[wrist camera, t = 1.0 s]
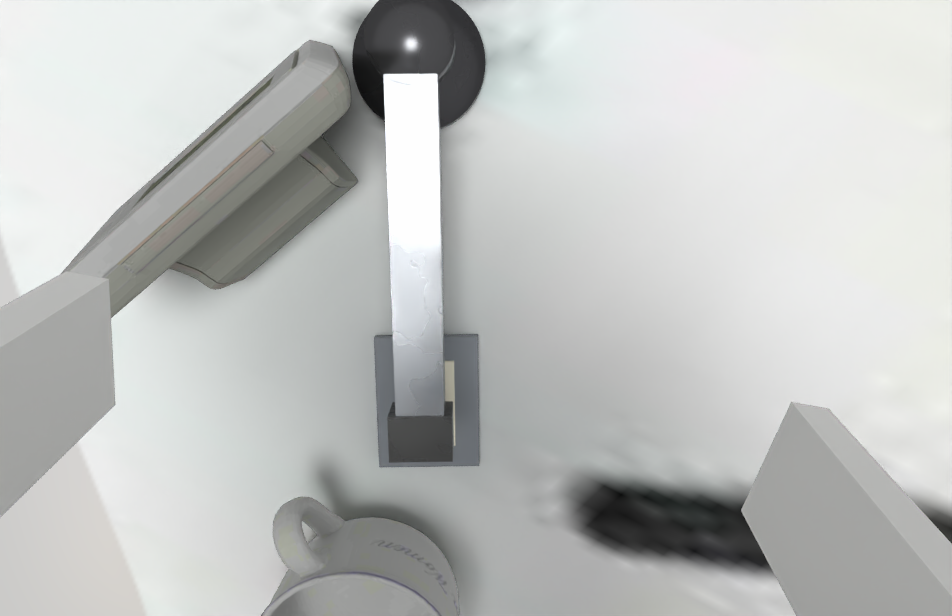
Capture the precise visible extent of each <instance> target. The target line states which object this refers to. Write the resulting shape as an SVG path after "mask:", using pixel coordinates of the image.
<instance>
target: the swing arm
mask: <svg viewBox="0 0 952 616" xmlns="http://www.w3.org/2000/svg"><path fill="white" fill-rule="evenodd" d="M364 44H365V49H366V52H367V55H368V57H369V59H370V61H371V63H372V64H373V66H374V67H375V69H376V70H377V71H378V73H379V74H380V75H381V76H382V77H383V78H384V106H385V134H386V162H387V190H388V218H389V246H390V274H391V302H392V330H393V358H394V386H395V402H392V405H391V408H390V411H389V414H388V417H387V424H388V450H389V463H399V462H453V449H454V427H453V401H445V353H444V300H443V248H442V196H441V144H440V91H439V83H440V82H441V81H442V80H443V79H444V78H445V77H446V76H447V74H448V73H449V71H450V69H451V67H452V65H453V62H454V58H455V50H456V46H455V34H454V27H453V24H452V21H451V18H450V16H449V14H448V12H447V11H446V9H445V8H444V6H443V5H442V4H441V3H440V2H439V1H438V0H379V1H378V2H377V3H376V4H375V5H374V7H373V8H372V10H371V11H370V13H369V15H368V17H367V20H366V24H365V29H364Z"/></svg>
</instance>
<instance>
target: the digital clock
mask: <svg viewBox="0 0 952 616" xmlns="http://www.w3.org/2000/svg"><path fill="white" fill-rule="evenodd" d="M350 104H351V91H350V85H349V79H348V77H347V74H346V72H345V70H344V67H343V65H342V63H341V60H340V58H339V56H338V54H337V52H336V51H335V50H334V49H333V47H332V46H330V45H327V44H324V43H321V42H317V41H312V40H309V41H307V42H306V43H304V44H303V45H302V46H301V47H300V48H299V49H298V50H295V51H294V52H293V53H292V54H290V55H289V56H288V57H287V58H286V59H285V60H284V61H283V62H282V63H280V64H279V65H278V66H277V67H276V68H275V69H274V70H273V71H272V72H270V73H269V74H268V75H267V76H266V77H265V78H264V79H263V80H261V81H260V82H259V83H258V84H257V85H256V86H255V87H254V88H253V89H251V90H250V91H249V92H248V93H247V94H246V95H245V96H244V97H243V98H241V99H240V100H239V101H238V102H237V103H236V104H235V105H234V106H233V107H231V108H230V109H229V110H228V111H227V112H226V113H225V114H224V115H222V116H221V117H220V118H219V119H218V120H217V121H216V122H215V123H214V124H212V125H211V126H210V127H209V128H208V129H207V130H206V131H205V132H204V133H202V134H201V135H200V136H199V137H198V138H197V139H196V140H195V141H194V142H192V143H191V144H190V145H189V146H188V147H187V148H186V149H185V150H184V151H182V152H181V153H180V154H179V155H178V156H177V157H176V158H175V159H173V160H172V161H171V162H170V163H169V164H168V165H167V166H166V167H165V168H163V169H162V170H161V171H160V172H159V173H158V174H157V175H156V176H155V177H153V178H152V179H151V180H150V181H149V182H148V183H147V184H146V185H145V186H143V187H142V188H141V189H140V190H139V191H138V192H137V193H136V194H134V195H133V196H132V197H131V198H130V199H129V200H128V201H127V202H126V203H124V204H123V205H122V206H121V207H120V208H119V209H118V210H117V211H116V212H115V213H114V214H113V215H112V216H111V217H110V218H109V220H108V221H107V222H106V223H105V224H104V225H103V226H102V227H101V228H100V230H99V231H98V232H97V233H96V234H95V235H94V236H93V238H92V239H91V240H90V241H89V242H88V243H87V245H86V246H85V247H84V248H83V249H82V250H81V251H80V252H79V253H78V255H77V256H76V257H75V258H74V259H73V260H72V261H71V263H70V264H69V265H68V266H67V267H66V269H65V270H64V271H63V272H62V273H64V272H66V271H68V272H73V273H79V274H84V275H90V276H95V277H101V278H106V279H109V292H110V311H111V318H112V317H113V316H114V315H115V314H117V313H118V312H119V311H120V310H121V309H122V308H123V307H125V306H126V305H127V304H128V303H129V302H130V301H132V300H133V299H134V298H135V297H136V296H137V295H138V294H140V293H141V292H142V291H143V290H144V289H145V288H147V287H148V286H149V285H150V284H151V283H152V282H153V281H155V280H156V279H157V278H158V277H159V276H160V275H161V274H163V273H164V272H165V271H166V270H167V269H168V268H170V269H173V270H176V271H179V272H182V273H184V274H187V275H190V276H192V277H194V278H196V279H197V280H199V281H200V282H201V283H203V284H204V285H206V286H207V287H209V288H211V289H221V288H224V287H226V286H229V285H231V284H233V283H236V282H238V281H241V280H243V279H245V278H246V277H247V276H248V275H249V274H251V273H252V272H253V271H254V270H255V269H257V268H258V267H259V266H260V265H261V264H262V263H264V262H265V261H266V260H267V259H268V258H269V257H271V256H272V255H273V254H274V253H275V252H277V251H278V250H279V249H280V248H281V247H282V246H284V245H285V244H286V243H287V242H288V241H289V240H291V239H292V238H293V237H294V236H295V235H296V234H298V233H299V232H300V231H301V230H302V229H303V228H305V227H306V226H307V225H308V224H309V223H311V222H312V221H313V220H314V219H315V218H316V217H318V216H319V215H320V214H321V213H322V212H323V211H325V210H326V209H327V208H328V207H329V206H330V205H332V204H333V203H334V202H335V201H336V200H337V199H339V198H340V197H341V196H342V195H343V194H344V193H346V192H347V191H348V190H349V189H350V188H352V187H353V186H354V185H355V184H356V183H357V182H358V180H357V178H356V177H355V176H354V174H353V173H352V172H351V171H350V170H349V168H348V167H347V166H346V165H345V164H344V162H343V161H342V160H341V159H340V158H339V156H338V155H337V154H336V153H335V152H334V150H333V149H332V148H331V147H330V146H329V144H328V143H327V142H326V141H325V140H324V138H323V137H322V136H321V135H322V134H323V133H324V132H325V131H326V130H328V129H329V128H330V127H331V126H332V125H333V124H334V123H335V122H337V121H338V120H339V119H340V118H341V117H342V116H343V115H344V114H345V113H346V112H347V111H348V109H349V108H350ZM273 152H274V153H273ZM62 273H61V274H62Z"/></svg>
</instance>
